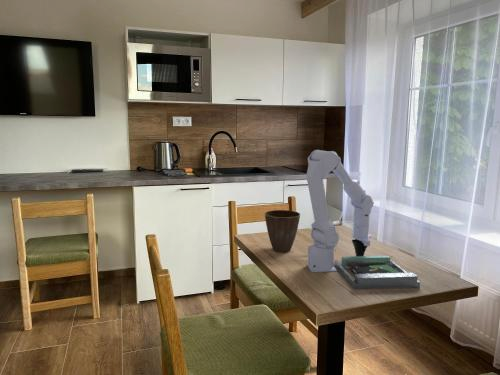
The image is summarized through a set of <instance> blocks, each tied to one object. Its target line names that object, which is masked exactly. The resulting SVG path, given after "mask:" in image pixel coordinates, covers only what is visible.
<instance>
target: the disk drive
mask: <svg viewBox="0 0 500 375" xmlns="http://www.w3.org/2000/svg"><path fill="white" fill-rule="evenodd" d="M350 270H351V273H352V274H354V275H355V274H376V273H401V272H400V271H398V270H397V269H394V268H393V267H391V266H389V264H387V265H386V264H384V265H383V264H379V265H364V266H352V267H351V269H350Z"/></svg>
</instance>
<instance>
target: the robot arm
mask: <svg viewBox="0 0 500 375" xmlns="http://www.w3.org/2000/svg"><path fill="white" fill-rule="evenodd" d="M307 163H308V165H307V166H308V167H307V170H306V181H307V187H308V191H309V198H310V203H311V207H312V213H313V218H314V222H313V223H311V225H310V226H311V232H310V237H311V238H312V240H313V245H308V248H307V263H306V266H307V267H308V269H309V270H310V272H311V273H326V272H337V271H338V269H337V267H336V266H335V265H334V260H335V248H336V246H337V245H338V243H339V239H340V236H339V235H340V234H339V233H338V232H337V230H336V226H335V225H334V223H333V222H332V221H331V217H330V212H329V207H328V203H327V202H328V201H327V195H326V191H325V185H324V178H325V177H326V176H327V175H329V174H330V173H331V172H333V174H334V175H335V176H336V177H337V178H338V180H339V181H341V183H342V185H343V186H342V187H343V190H344V192H345V193H346V195H348V198H350V204H351V206H353V208H354V209H353V211H354V212H353V228H352V230H351V236H352V238H353V239H351V242H352V245H353V247H354V252H355V256H365V252H366V250H367V248H368V247H370V246H371V240H370V239H371V238H372V235H370V234H369V231H370V230H369V229H370V214H371V212H372V208H373V207H374V204H375V203H374V200H373V198H372V196H370V195H369V194H367V193H366V191H365V189H363V187H362V186H361V185H360V181H359V180H356V179H352V178H351V177H352V176H350V175H349V173H348V171H347V170H346V168H345V166H344V165H343V163H342V159H341V157H340V156H339V155H338V154H337V152H336V151H333V150H331V151H329V150H328V151H326V150H320V149H315V150H313V151H312V152H311V153H310V155H308V157H307Z"/></svg>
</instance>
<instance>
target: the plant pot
mask: <svg viewBox="0 0 500 375" xmlns="http://www.w3.org/2000/svg"><path fill="white" fill-rule="evenodd" d="M264 217H265V224H266V225H265V226H266V230H267V234H268V238H269V242H270V244H271V247H272V250H273V251H274V252H277V253H289V252H291V250H292V248H293V246H294V243H295V239H296V236H297V233H298V228H299V224H300V220H301V219H300V217H301V213H300V212H298V211H294V210H287V209H286V210H285V209H274V210H268V211H265V212H264Z"/></svg>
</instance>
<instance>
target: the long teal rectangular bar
mask: <svg viewBox="0 0 500 375" xmlns="http://www.w3.org/2000/svg"><path fill="white" fill-rule="evenodd" d="M390 259H391V256H389V255H364V256H356V255H354V256H351V255H349V256H341V263H340V264H341V265H342V266H343V267H344V269H345V270H347V269H349V270H351V267H352V266H364V265H379V264H383V265H384V264H386V265H387V264H389V266H390Z"/></svg>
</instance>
